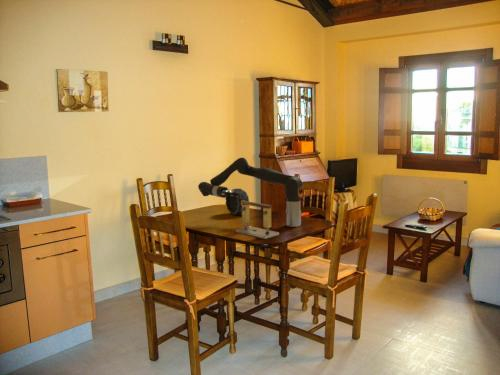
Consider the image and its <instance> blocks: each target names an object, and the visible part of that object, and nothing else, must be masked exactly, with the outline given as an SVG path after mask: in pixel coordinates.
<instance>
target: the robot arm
mask: <svg viewBox="0 0 500 375" xmlns="http://www.w3.org/2000/svg"><path fill="white" fill-rule="evenodd" d="M235 171H237V172H238V174H240V175H243V176H249V177H253V178H256V179H259V180H260V181H264V182H267V183H270V184H279V185H284V187H285V188H284V192H285V198H286V226H287V227H290V228H291V227H293V228H296V227H300V226H301V225H302V211H301V196H300V195H299V190H300V189H301V188H302V187H303V181H302V179H301V178H300V177H299V176H294V175H290V174H285V173H283V172H280V171H277V170H275V169H272V168H269V167H255V166H252V165H249V163H248V160H247V159H246V158H245V157H238V158H237V159H236V160H234V161H233V162H232V163H231V164H230V165H229V166H228V167H226V168H225V169H224V170H223V171H222V172H220V173H219V174H217V175H215V176H214V177H213V178H211V179H210V180H209V182H210V183H209V182H207V181H201V182H200V183H198V186H197V188H198V190H199V191H200V193H201V195H202V196H203V197H209V196H214V197H217V198H221V199H223V198H224V199H225V198H226V197H227V196H239V193H237V192H236V190H233V191H232V189H228V188H229V187H227V186H222V185H223V184H224V183H225V182H226V181H228V179H229V178H230V176H231V175H233V173H235Z"/></svg>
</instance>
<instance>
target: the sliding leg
mask: <svg viewBox="0 0 500 375" xmlns="http://www.w3.org/2000/svg"><path fill="white" fill-rule="evenodd" d="M250 209H251V208H250V205H244V204H243V205H242V208H241V210H242V214H241V223H242V224H244V227H245V229H247V227H248V224H250V223H251V222H250V219H251V218H250V212H251V211H250Z"/></svg>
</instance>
